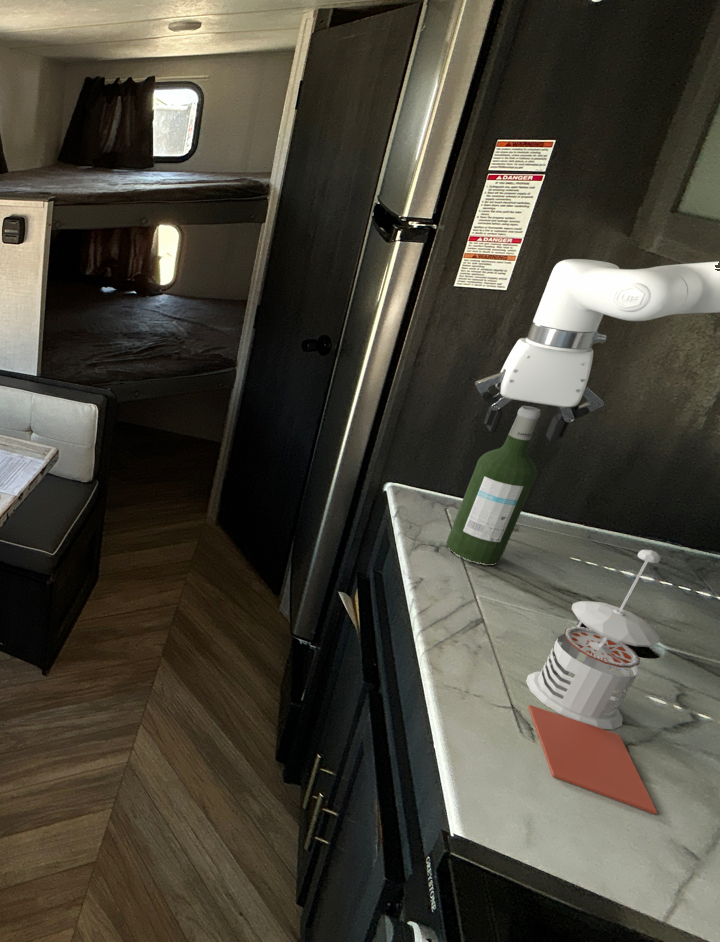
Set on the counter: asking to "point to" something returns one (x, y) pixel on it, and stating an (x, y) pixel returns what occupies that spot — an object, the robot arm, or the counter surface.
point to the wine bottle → (496, 495)
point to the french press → (594, 661)
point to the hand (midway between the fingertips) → (520, 433)
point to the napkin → (590, 758)
